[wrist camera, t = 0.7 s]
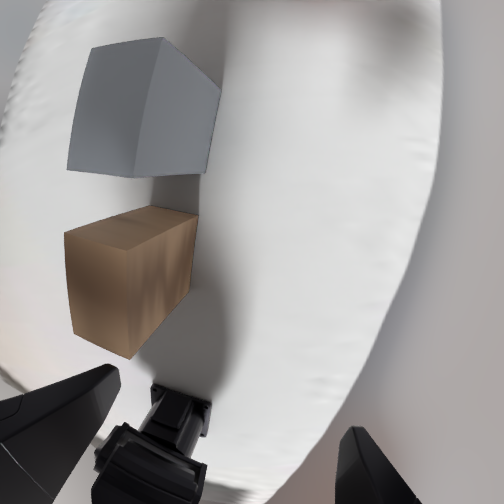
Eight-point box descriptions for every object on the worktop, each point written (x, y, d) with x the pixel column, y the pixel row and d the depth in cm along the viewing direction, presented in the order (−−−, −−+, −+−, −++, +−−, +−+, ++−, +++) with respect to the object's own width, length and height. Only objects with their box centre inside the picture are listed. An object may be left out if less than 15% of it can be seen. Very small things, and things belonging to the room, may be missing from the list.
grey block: (205, 173, 18) (132, 178, 10) (155, 165, 19) (66, 170, 10) (221, 90, 17) (163, 37, 8) (170, 87, 17) (91, 48, 8)
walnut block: (189, 291, 21) (129, 360, 13) (144, 278, 22) (73, 333, 13) (198, 215, 19) (126, 251, 11) (150, 205, 20) (63, 232, 11)
